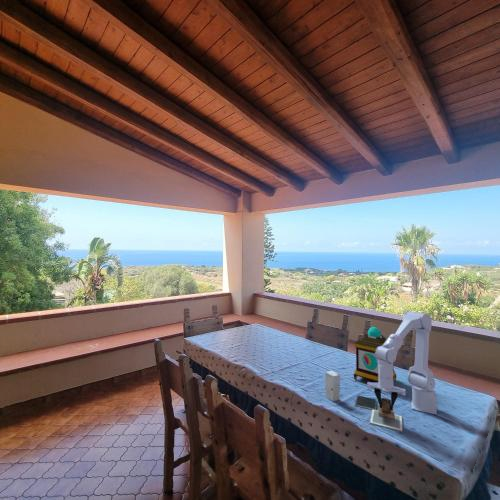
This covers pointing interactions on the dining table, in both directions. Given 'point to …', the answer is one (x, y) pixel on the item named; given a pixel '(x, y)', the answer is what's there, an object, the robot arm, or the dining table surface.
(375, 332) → the decorative lantern
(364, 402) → the ink pad
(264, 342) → the dining table surface
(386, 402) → the stamp
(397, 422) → the marked board
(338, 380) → the skincare box
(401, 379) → the dining table surface
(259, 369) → the dining table surface
